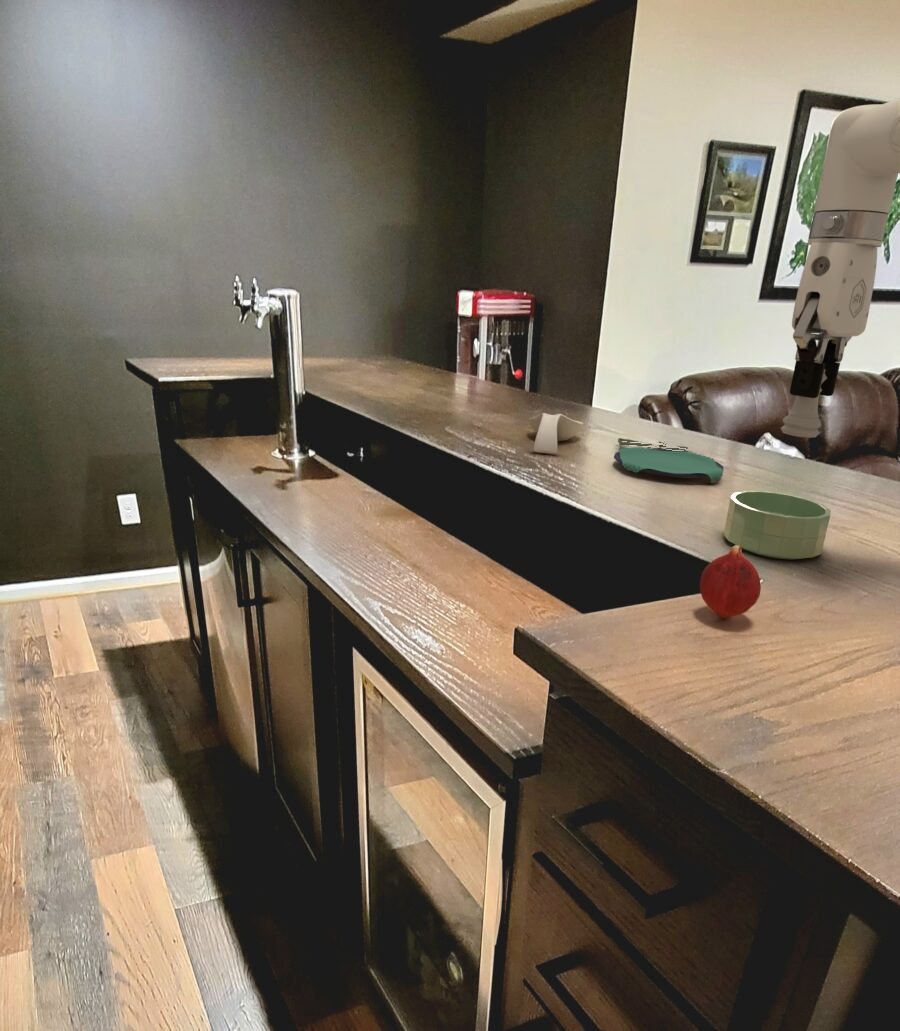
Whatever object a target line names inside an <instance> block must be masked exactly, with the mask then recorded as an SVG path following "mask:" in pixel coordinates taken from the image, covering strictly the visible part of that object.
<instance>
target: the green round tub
mask: <svg viewBox="0 0 900 1031" xmlns="http://www.w3.org/2000/svg"><path fill="white" fill-rule="evenodd" d="M830 518H831V509H830V508H828V507H827V506H825V505H824V504H822V503H819V502H817V501H814V500H813V499H809V498H805V497H801V496H798V495H794V494H788V493H782V492H776V491H766V490H740V491H737V492H733V493H732V494H731V496H730V498H729V503H728V510H727V513H726V520H725V524H724V529H723V536H724V537H725V538H726V540H727V541H728V542H730V543H731V544H734V546H735V545H737V546H739V547H740V548H742V550H744V551H747V552H748V553H752V554H755V555H759V556H761V557H766V558H771V559H777V560H778V559H780V560H803V559H808V558H809V559H810V558H815V557H817V556H820V555H822V553H823V549H824V543H825V539H826V536H827V532H828V527H829V523H830Z"/></svg>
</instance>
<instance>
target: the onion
mask: <svg viewBox="0 0 900 1031" xmlns="http://www.w3.org/2000/svg"><path fill="white" fill-rule="evenodd" d="M742 550H743V549H742V548H740V547H739V546H737V545H735V544H734V546H731V549H730V551H729V552H728V553H727V554H724V555H721V556H718V557H716V558H715V559H713V560H712V561H710V562H709V563H708V564H707V565H706V566H705V568H704V569H703V571H702V573H701V576H700V581H699V593H700V595H701V597H702V600H703V602H704V603H705V605H706V606H707V608H709V609H710V610H711V611H712V612H713V613H714V614H715V615H716V616H717V617H718V618H719V619H722V620H728V619H732V618H733V617H737V616H740V615H743V614H745V613H747V612H748V611H749V610H750V609H751V608H752V607H753V606H754V605H755V604H757V602H758V600H759V598H760V594H761V589H762V586H761V578H760V575H759V572H758V570H757V568H756V566H755V565H754V564H753V563H752V562H751V561H750V560H749V559H748V558H747V557H745V556H744V554H743V553H742Z"/></svg>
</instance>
